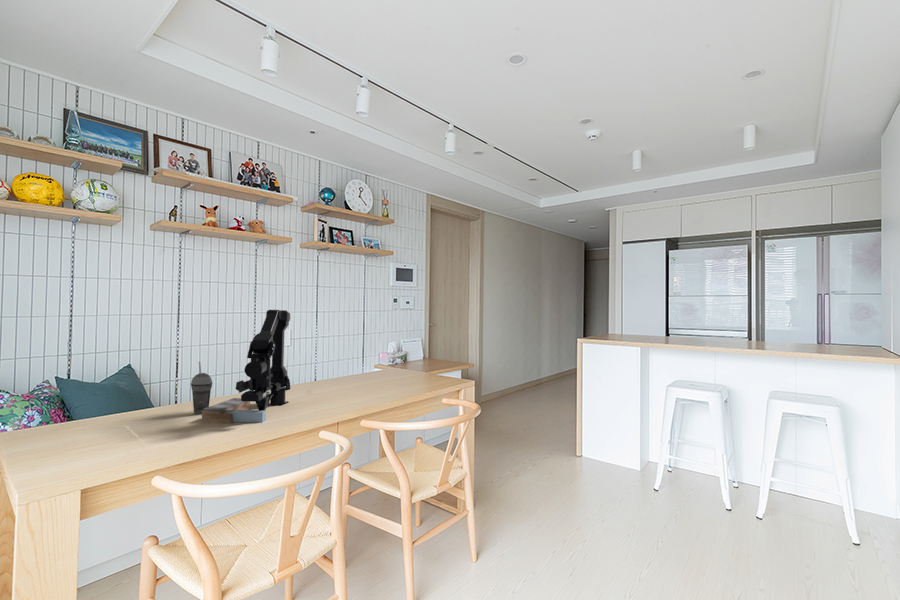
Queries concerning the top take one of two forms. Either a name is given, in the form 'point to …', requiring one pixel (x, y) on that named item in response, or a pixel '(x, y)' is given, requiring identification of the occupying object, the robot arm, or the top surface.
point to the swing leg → (248, 415)
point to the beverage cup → (201, 391)
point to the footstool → (224, 410)
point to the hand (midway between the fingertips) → (261, 414)
